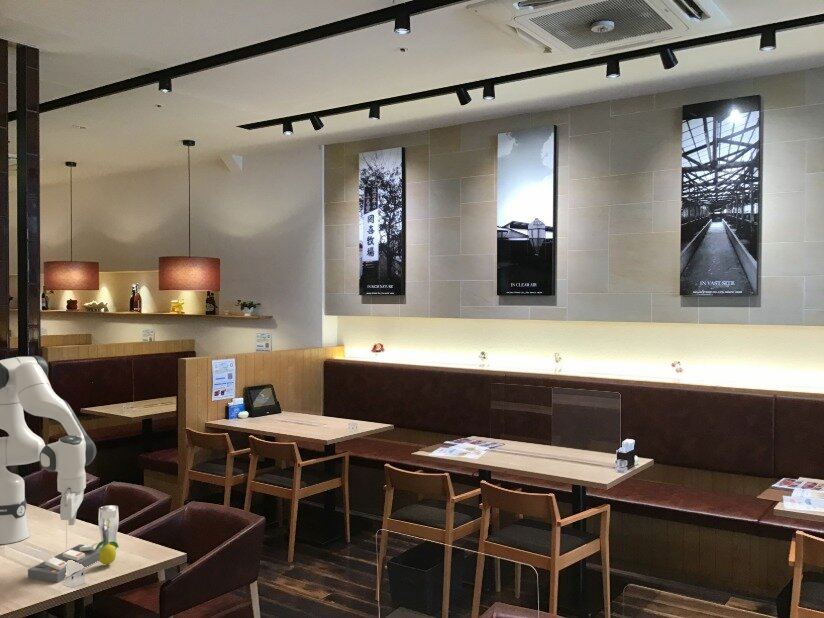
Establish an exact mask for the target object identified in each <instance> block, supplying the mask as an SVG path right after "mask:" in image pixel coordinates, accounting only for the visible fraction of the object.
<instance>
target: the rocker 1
mask: <svg viewBox="0 0 824 618" xmlns="http://www.w3.org/2000/svg"><path fill="white" fill-rule="evenodd" d="M50 558H51V559H50ZM50 558H49V560H48V559H47V561H46V560H45V561H46V562H45V565H48V566H50V567H53V568H55V569H57V570H61V569H63V568H65V567H66V566H67V564H68V563H67V562H64V561H62V560H60V559H57V558H55V556H52V557H50Z"/></svg>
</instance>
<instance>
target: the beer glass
mask: <svg viewBox="0 0 824 618" xmlns="http://www.w3.org/2000/svg"><path fill="white" fill-rule="evenodd" d="M119 515H120V514H119V506H118V505H113V504H111V505H104V506H100V507H99V508H98V519H97V520H98V528H99V529H98V530H99V533H100V542H101V541H105V542H104V543H103V544H102V545H101V546H100V547H103V546H104V545H106V544H107V537H108V544H110V543H109V542H113V541H114V542H116V543H117V544H118V540H117V538H118V537H117V536H118V529H119V521H120V519H119V518H120V517H119ZM112 546H113V545H112ZM114 548H115V550H116V549H118V548H117V547H114Z"/></svg>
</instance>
